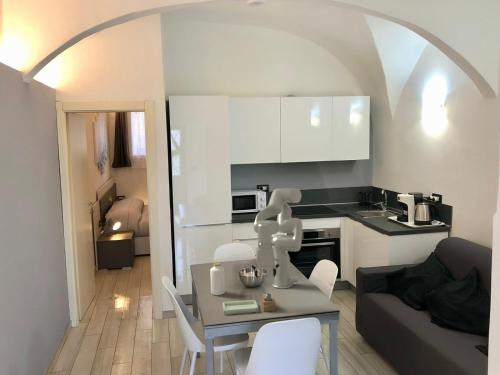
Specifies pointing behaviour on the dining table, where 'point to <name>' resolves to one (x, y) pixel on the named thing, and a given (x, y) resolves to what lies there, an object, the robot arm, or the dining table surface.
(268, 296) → the steel stake
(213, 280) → the potion bottle
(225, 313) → the sage tray
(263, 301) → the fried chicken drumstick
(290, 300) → the dining table surface
